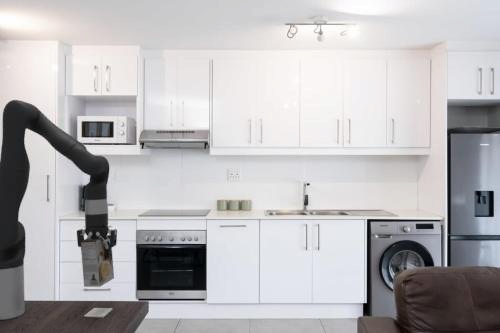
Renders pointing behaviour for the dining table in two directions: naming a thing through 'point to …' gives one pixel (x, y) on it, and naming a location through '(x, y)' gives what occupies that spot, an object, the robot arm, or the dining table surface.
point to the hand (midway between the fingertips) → (97, 258)
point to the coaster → (98, 312)
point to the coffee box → (96, 263)
